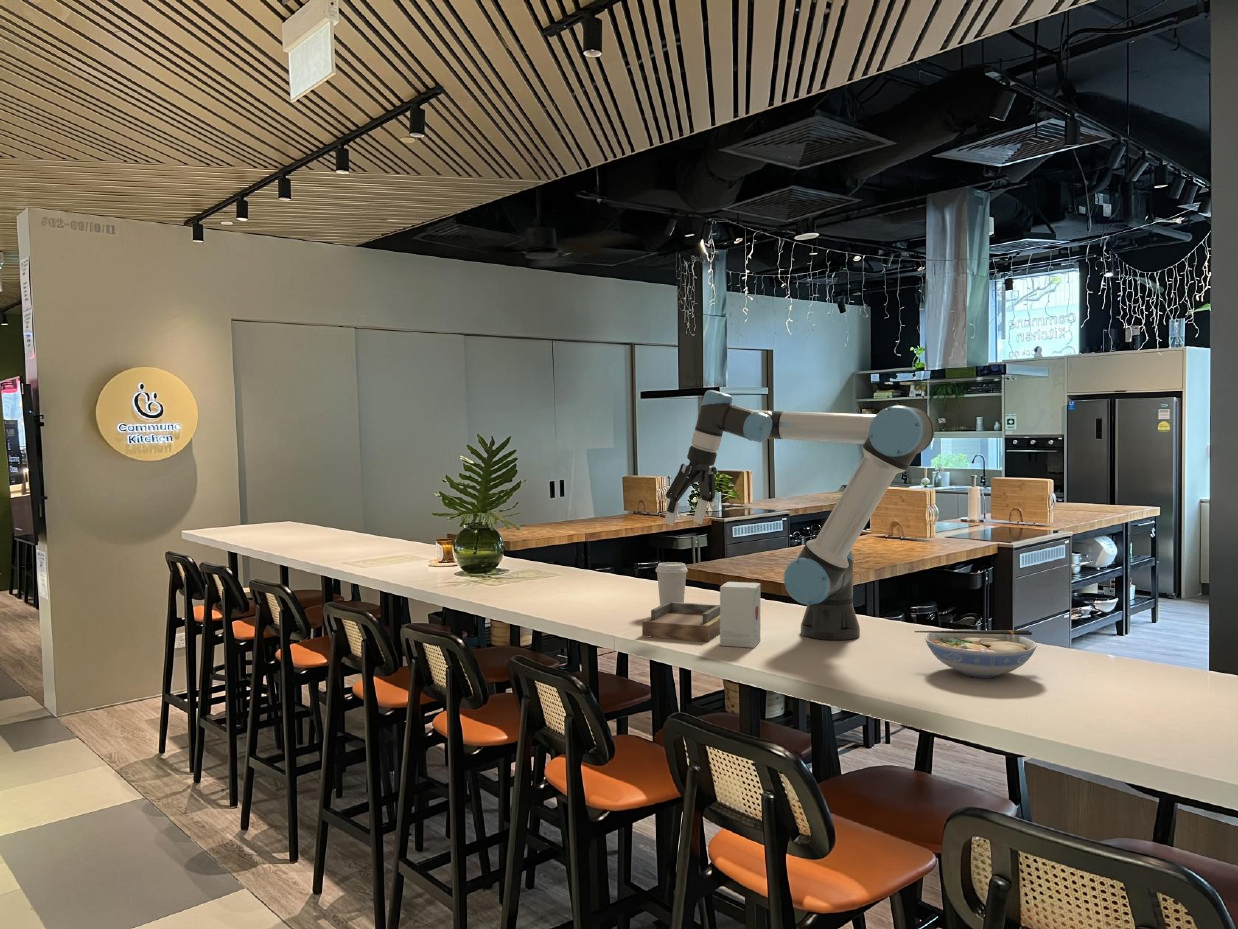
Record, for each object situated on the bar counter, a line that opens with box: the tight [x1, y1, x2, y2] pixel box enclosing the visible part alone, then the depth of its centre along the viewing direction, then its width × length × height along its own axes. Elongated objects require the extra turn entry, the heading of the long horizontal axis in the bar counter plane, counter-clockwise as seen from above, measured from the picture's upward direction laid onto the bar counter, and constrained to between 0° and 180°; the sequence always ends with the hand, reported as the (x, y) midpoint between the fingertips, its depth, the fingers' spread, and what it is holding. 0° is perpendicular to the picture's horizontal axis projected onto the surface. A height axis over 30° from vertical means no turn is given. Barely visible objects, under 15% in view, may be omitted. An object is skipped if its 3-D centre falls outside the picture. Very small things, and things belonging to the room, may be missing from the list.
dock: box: [641, 602, 720, 643], centre depth 240 cm, size 18×18×6 cm
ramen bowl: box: [914, 629, 1038, 679], centre depth 195 cm, size 25×23×8 cm
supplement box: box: [719, 581, 761, 649], centre depth 226 cm, size 9×9×15 cm
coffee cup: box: [655, 561, 689, 606], centre depth 265 cm, size 10×10×15 cm
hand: (683, 523), depth 243 cm, fingers open, 13 cm apart
